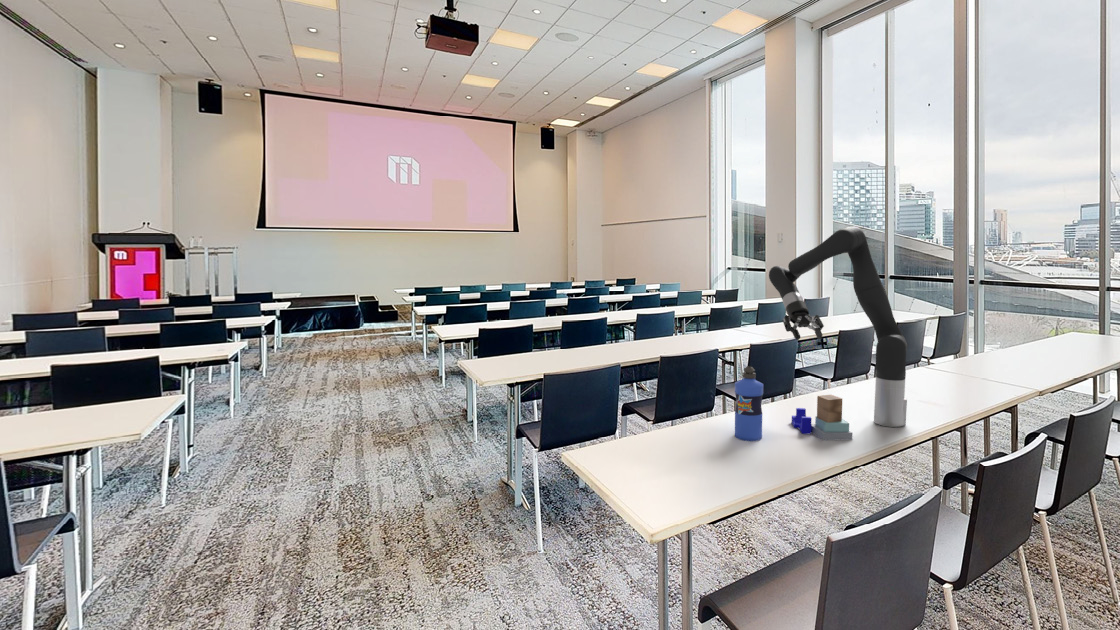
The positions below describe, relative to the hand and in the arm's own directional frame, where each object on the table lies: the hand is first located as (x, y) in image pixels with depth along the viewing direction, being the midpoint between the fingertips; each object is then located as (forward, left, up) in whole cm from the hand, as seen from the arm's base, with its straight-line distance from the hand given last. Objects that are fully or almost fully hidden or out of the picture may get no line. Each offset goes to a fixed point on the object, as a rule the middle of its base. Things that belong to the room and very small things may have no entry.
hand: (809, 338), depth 203 cm
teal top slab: (+3, +21, -28) cm, 35 cm away
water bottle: (+32, +19, -31) cm, 48 cm away
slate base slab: (+3, +21, -31) cm, 38 cm away
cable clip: (+10, +13, -31) cm, 35 cm away
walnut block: (+4, +21, -25) cm, 33 cm away
